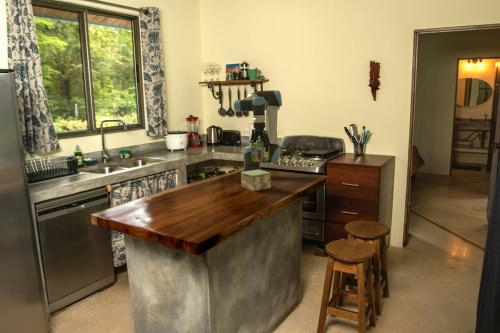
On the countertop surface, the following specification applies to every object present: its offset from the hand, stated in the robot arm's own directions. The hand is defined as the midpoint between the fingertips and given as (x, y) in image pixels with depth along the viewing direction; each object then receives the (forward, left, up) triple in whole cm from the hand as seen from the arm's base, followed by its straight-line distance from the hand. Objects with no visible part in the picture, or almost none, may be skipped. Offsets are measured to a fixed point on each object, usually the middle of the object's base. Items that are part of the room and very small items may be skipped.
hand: (260, 155), depth 252 cm
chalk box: (0, 0, -3) cm, 3 cm away
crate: (+1, -4, -21) cm, 22 cm away
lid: (+1, -4, -12) cm, 13 cm away
